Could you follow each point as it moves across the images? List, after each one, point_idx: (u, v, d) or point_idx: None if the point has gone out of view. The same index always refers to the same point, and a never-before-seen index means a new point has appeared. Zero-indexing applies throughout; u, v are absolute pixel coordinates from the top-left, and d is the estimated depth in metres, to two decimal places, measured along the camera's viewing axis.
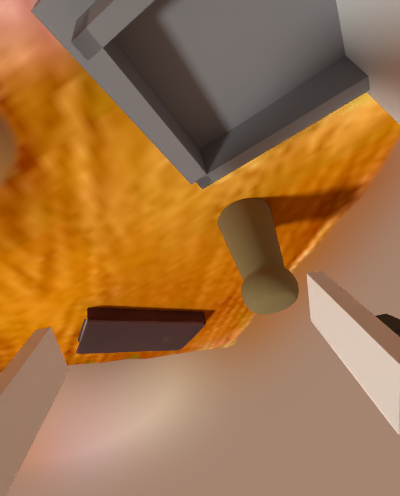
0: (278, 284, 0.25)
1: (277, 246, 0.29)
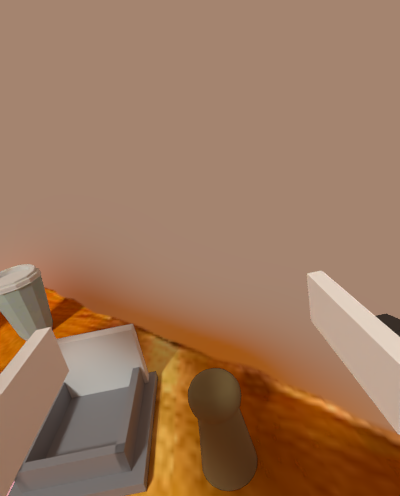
0: None
1: None
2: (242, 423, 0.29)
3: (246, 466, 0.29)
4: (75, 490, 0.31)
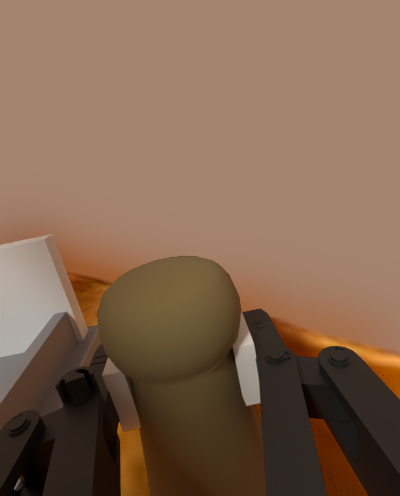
0: None
1: None
2: None
3: None
4: None
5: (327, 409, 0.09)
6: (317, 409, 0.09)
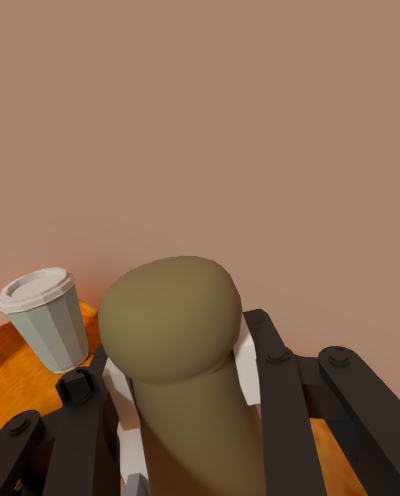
0: None
1: None
2: None
3: None
4: None
5: (327, 409, 0.09)
6: (317, 409, 0.09)
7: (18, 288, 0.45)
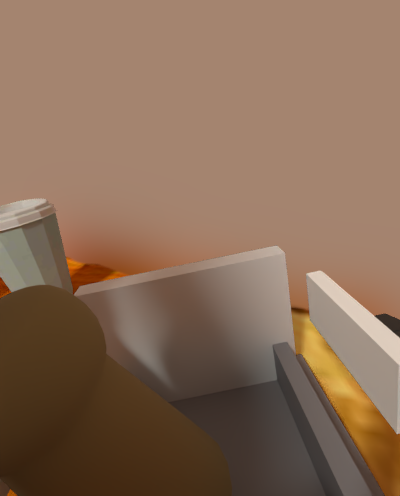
0: None
1: None
2: (139, 431, 0.09)
3: None
4: None
5: None
6: None
7: None
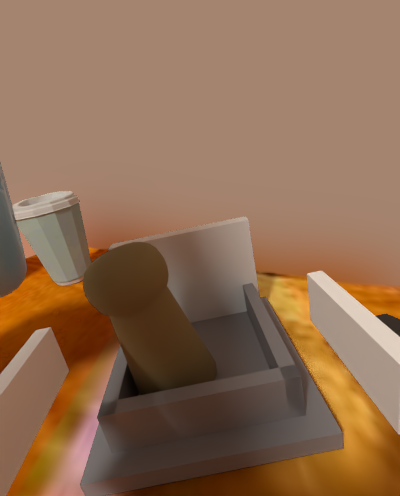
0: None
1: None
2: (173, 326, 0.18)
3: None
4: (212, 447, 0.17)
5: None
6: None
7: (28, 205, 0.49)
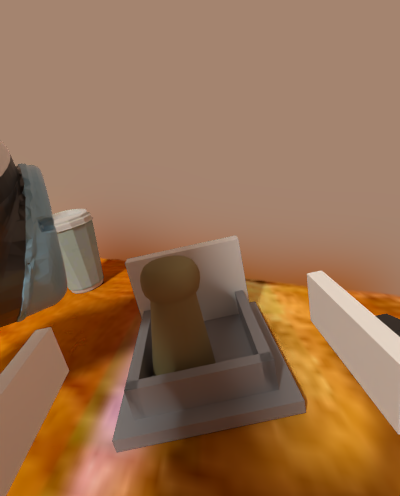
0: None
1: None
2: (194, 321, 0.25)
3: None
4: (209, 413, 0.23)
5: None
6: None
7: None
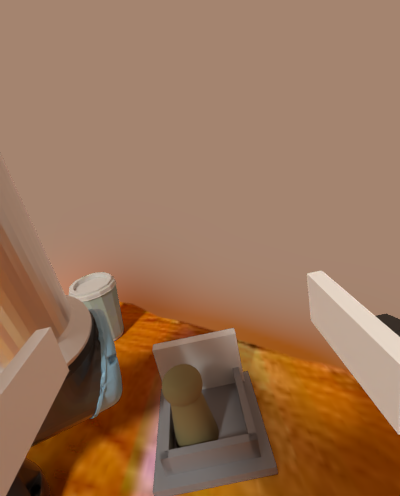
0: None
1: None
2: (199, 414, 0.37)
3: None
4: (215, 473, 0.36)
5: None
6: None
7: (78, 286, 0.67)
